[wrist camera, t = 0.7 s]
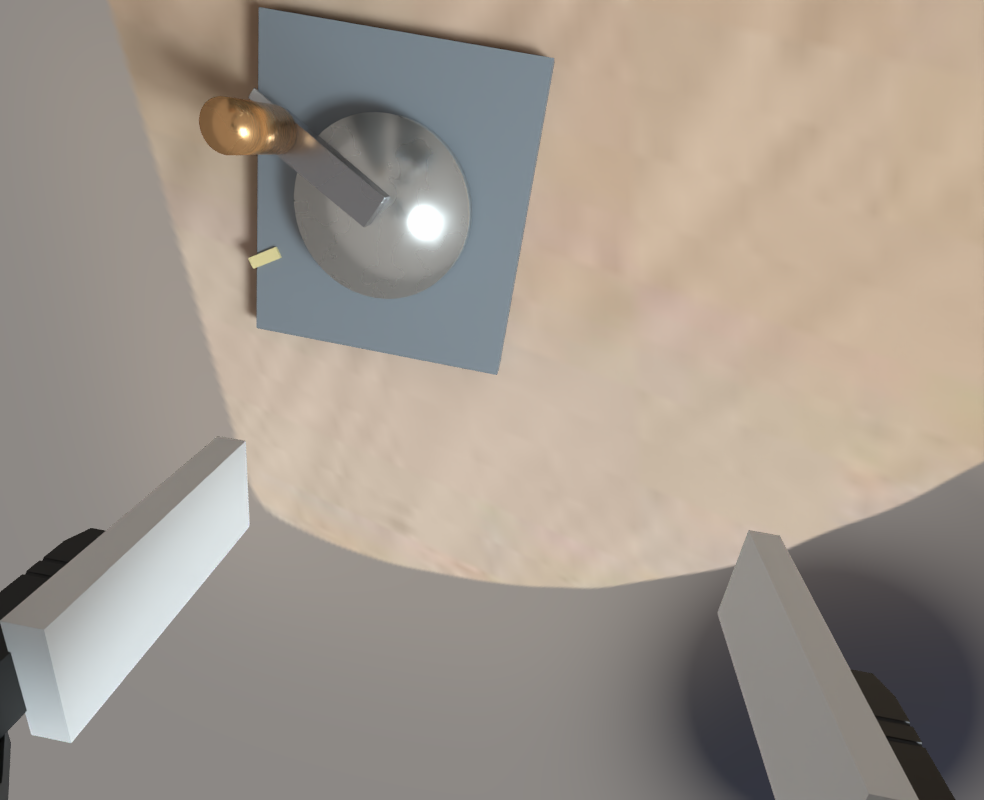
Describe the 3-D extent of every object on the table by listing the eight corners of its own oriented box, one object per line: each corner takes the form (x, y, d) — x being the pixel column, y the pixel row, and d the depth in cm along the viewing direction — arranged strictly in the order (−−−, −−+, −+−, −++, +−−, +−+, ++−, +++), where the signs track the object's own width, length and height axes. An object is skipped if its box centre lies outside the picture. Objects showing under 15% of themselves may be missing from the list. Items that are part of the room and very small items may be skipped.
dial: (276, 93, 33) (197, 77, 26) (484, 130, 33) (462, 125, 26) (272, 271, 37) (204, 300, 30) (459, 307, 37) (434, 344, 30)
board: (262, 11, 33) (248, 4, 32) (554, 62, 33) (553, 57, 31) (260, 320, 40) (248, 327, 39) (499, 367, 40) (496, 375, 38)
